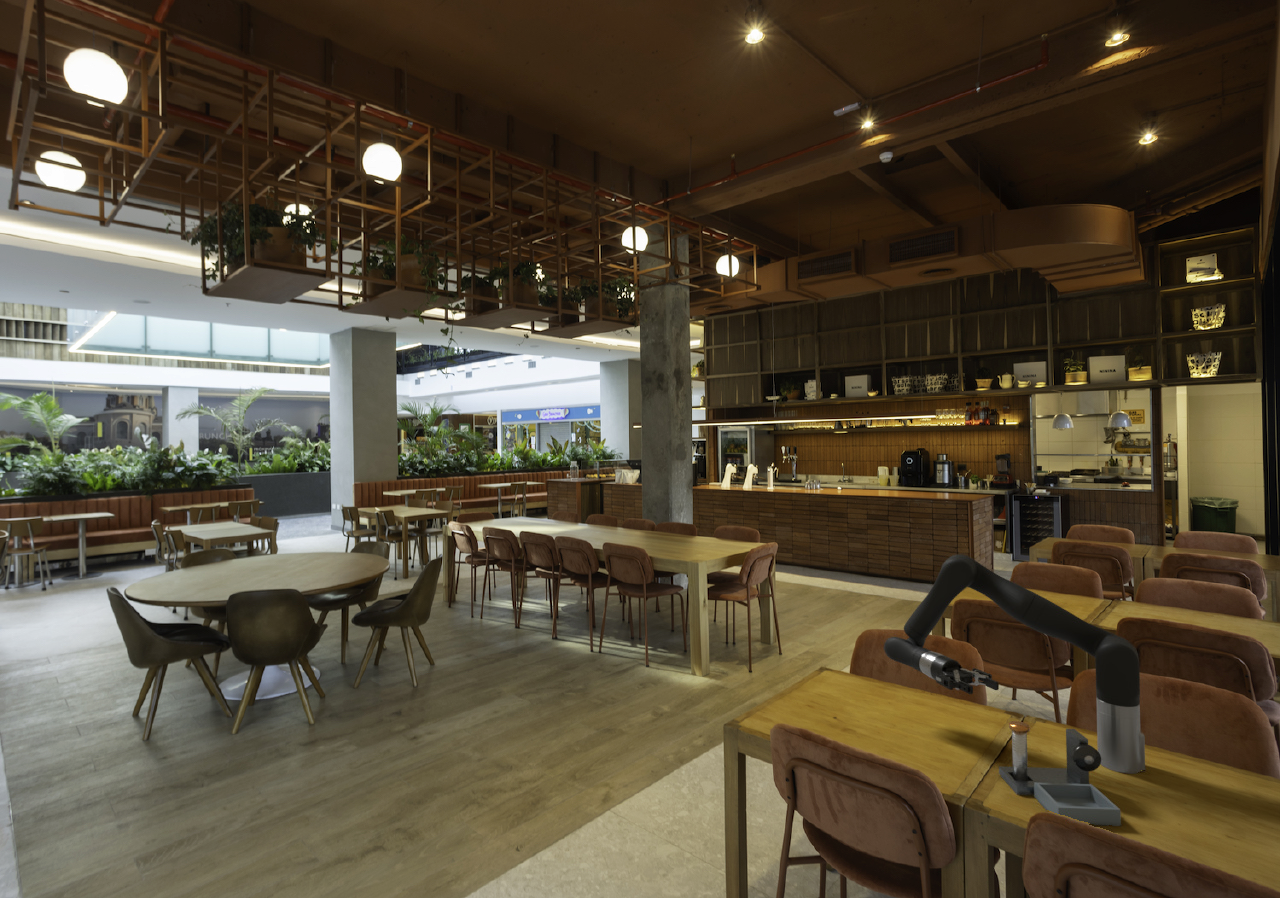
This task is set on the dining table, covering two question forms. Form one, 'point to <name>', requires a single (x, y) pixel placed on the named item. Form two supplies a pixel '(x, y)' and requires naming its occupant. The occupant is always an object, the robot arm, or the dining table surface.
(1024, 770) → the lock pin
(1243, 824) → the dining table surface
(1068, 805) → the tray
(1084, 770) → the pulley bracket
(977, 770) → the dining table surface
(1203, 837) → the dining table surface
